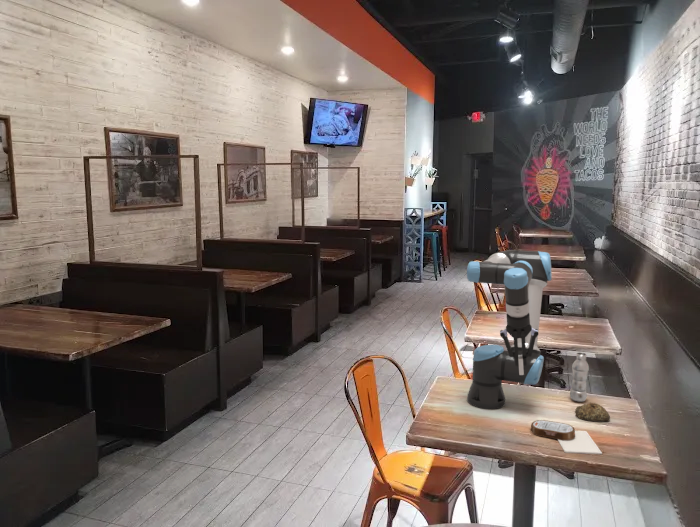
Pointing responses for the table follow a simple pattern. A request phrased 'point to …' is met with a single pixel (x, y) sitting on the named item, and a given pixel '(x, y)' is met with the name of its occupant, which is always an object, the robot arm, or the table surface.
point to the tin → (553, 430)
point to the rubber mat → (580, 444)
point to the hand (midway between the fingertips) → (521, 372)
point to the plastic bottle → (579, 378)
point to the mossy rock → (592, 413)
